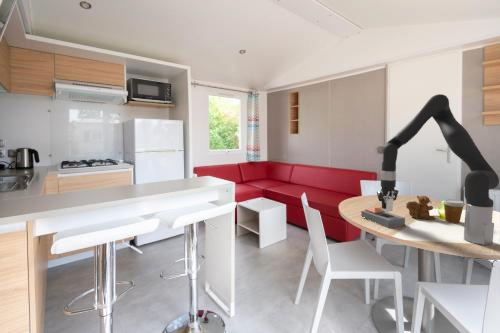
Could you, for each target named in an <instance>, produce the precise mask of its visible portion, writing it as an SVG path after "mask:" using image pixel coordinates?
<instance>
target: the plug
mask: <svg viewBox="0 0 500 333" xmlns="http://www.w3.org/2000/svg"><path fill="white" fill-rule="evenodd" d="M384 199H385V198H384ZM393 207H394V201H393V199H391V198H389V196H388V199H387V201H386V209H383V208H382V209H381V210H383V211H385V212H388V213H391V212H393V211H394V208H393Z"/></svg>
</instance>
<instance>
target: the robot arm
mask: <svg viewBox="0 0 500 333" xmlns="http://www.w3.org/2000/svg"><path fill="white" fill-rule="evenodd" d="M431 118H432V119H433V120H434V121H435V122H436V124H437V125H438V126H439V129H440V133H441V134H442V137H443V138H444V140H445V143H446V144H447V146H448V148H449V149H450V151H451V152H452V153H454V155H455V156H457V157H458V158H459V159H460V160H461V161H463V163H465V164H466V166H467V167H468V168H469V170H470V171H469V172H468V173H467V174H466V176H465V178H464V197H465V198H464V199H465V213H464V227H463V240H465V241H467V242H469V243H473V244H478V245H482V246H487V245H490V244H493V242H494V241H493V240H494V230H495V223H494V222H493V213H494V200H493V199H492V198H491V197H490V190H494V189H496V188H497V187H498V185H500V178H499V176H498V174H497V172H496V171H495V170H494V168H492V166H491V165H490V163H489V162H488V161H487V160H486V159H485V158H484V156H483V155H482V152H481V151H480V150H479V148H478V146H477V145H476V143H475V142H474V140H473V138H472V137H471V135H470V134H469V131H468V130H467V129H466V128H465V127H464V126H463V125H462V124H461V123H460V122H459V121H458V120H456V117H455V116H454V114H453V112H452V110H451V108H450V100H449V98H448V96H447V95H445V94H435V95H433V96H431V97H430V98H429V99H428V100H427V101H426V103H425V104H424V105H423V107H422V108H421V109H420V110H419V111H418V113H417V114H416V115H415V116H414V117H413V118H412V119H411V120H410V121H409V122H408V123H407V124H406V125H405V126H404V127H402V129H400V130H399V131H398V132H397V133H396V134H395V135H394V136H393V137H392V138H391V139H389V140H388V141H387V142H386V143H384V144H383V146H382V147H381V152H382V154H383V157H382V160H383V161H382V162H381V173H380V188H381V189H380V190H379V191H376V195H377V198H378V201H379V202H381V207H382V208H383V209H386V201H387V199H388V196H389V198H391V199H393V202H394V201H397V197H398V194H399V190H398V189H395V188H396V187H397V186H396V185H397V172H396V171H397V160H398V159H397V158H398V154H399V149H400V148H401V147H402V146H404V145H406V144H408V143H409V142H410V141H411V140H412V139H414V137H415V136H416V135H418V133H419V132H420V130H421V129H422V128H423V126H425V124H426V123H427V122H428V121H429V120H430V119H431ZM384 198H385V199H384Z"/></svg>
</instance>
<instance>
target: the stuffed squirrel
mask: <svg viewBox="0 0 500 333" xmlns="http://www.w3.org/2000/svg"><path fill="white" fill-rule="evenodd" d="M416 199H417V200H418V202H417V201H415V200H413V201H412V200H411V201H408V202H406V203H405V207H406V209H408V211H409V212H408V213H409V216H410V217H412V218H414V219H422V220H436V217H435V216H434V215H430V211H433V209H434V207H433V205H428V204H429V203H430V204H432V201H431V200H430V198H429V197H428V196H426V195H420V196H419V195H417V196H416Z"/></svg>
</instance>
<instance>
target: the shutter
mask: <svg viewBox="0 0 500 333" xmlns="http://www.w3.org/2000/svg"><path fill="white" fill-rule="evenodd" d="M381 209H382V206H376V207H372V208H370V207H369V208H365V209H364V210H366V211H369V212H372V213H375V214H376V213H383V212H386V211H383V210H381Z"/></svg>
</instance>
